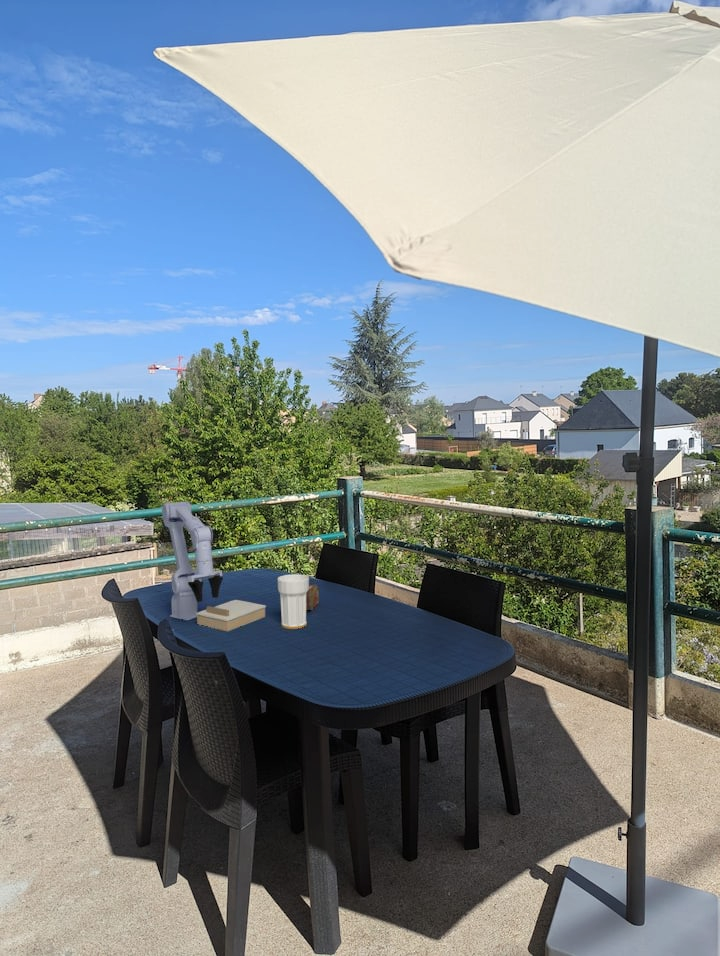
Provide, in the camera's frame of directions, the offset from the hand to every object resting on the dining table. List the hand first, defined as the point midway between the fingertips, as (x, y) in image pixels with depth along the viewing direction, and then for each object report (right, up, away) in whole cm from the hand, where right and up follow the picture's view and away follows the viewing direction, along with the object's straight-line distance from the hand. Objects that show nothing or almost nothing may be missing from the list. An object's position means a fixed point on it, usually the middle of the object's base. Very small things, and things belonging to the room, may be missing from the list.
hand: (207, 599), depth 232 cm
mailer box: (+6, -10, +12) cm, 17 cm away
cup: (+30, -11, +6) cm, 32 cm away
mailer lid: (+6, -6, +11) cm, 14 cm away
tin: (+35, -9, +28) cm, 45 cm away
